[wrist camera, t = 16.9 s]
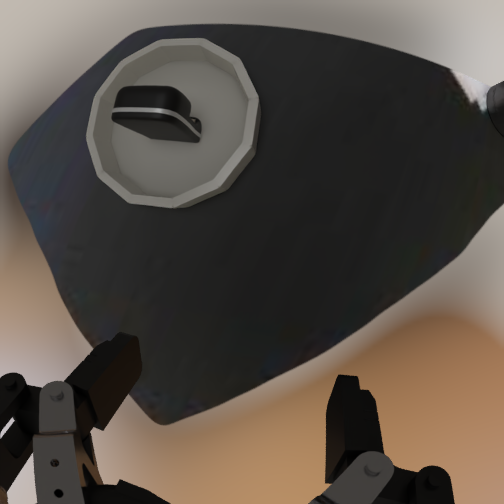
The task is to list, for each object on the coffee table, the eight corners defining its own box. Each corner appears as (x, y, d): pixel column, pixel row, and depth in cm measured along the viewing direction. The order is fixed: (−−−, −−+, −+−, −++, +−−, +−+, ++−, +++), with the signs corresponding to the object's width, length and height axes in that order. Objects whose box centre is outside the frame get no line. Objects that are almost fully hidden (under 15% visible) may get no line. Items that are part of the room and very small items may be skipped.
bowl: (269, 61, 34) (267, 41, 28) (246, 215, 37) (241, 217, 31) (126, 60, 35) (108, 45, 29) (100, 197, 38) (77, 197, 33)
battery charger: (207, 114, 34) (179, 80, 23) (201, 144, 35) (170, 120, 24) (154, 110, 35) (111, 81, 23) (148, 139, 35) (102, 118, 24)
